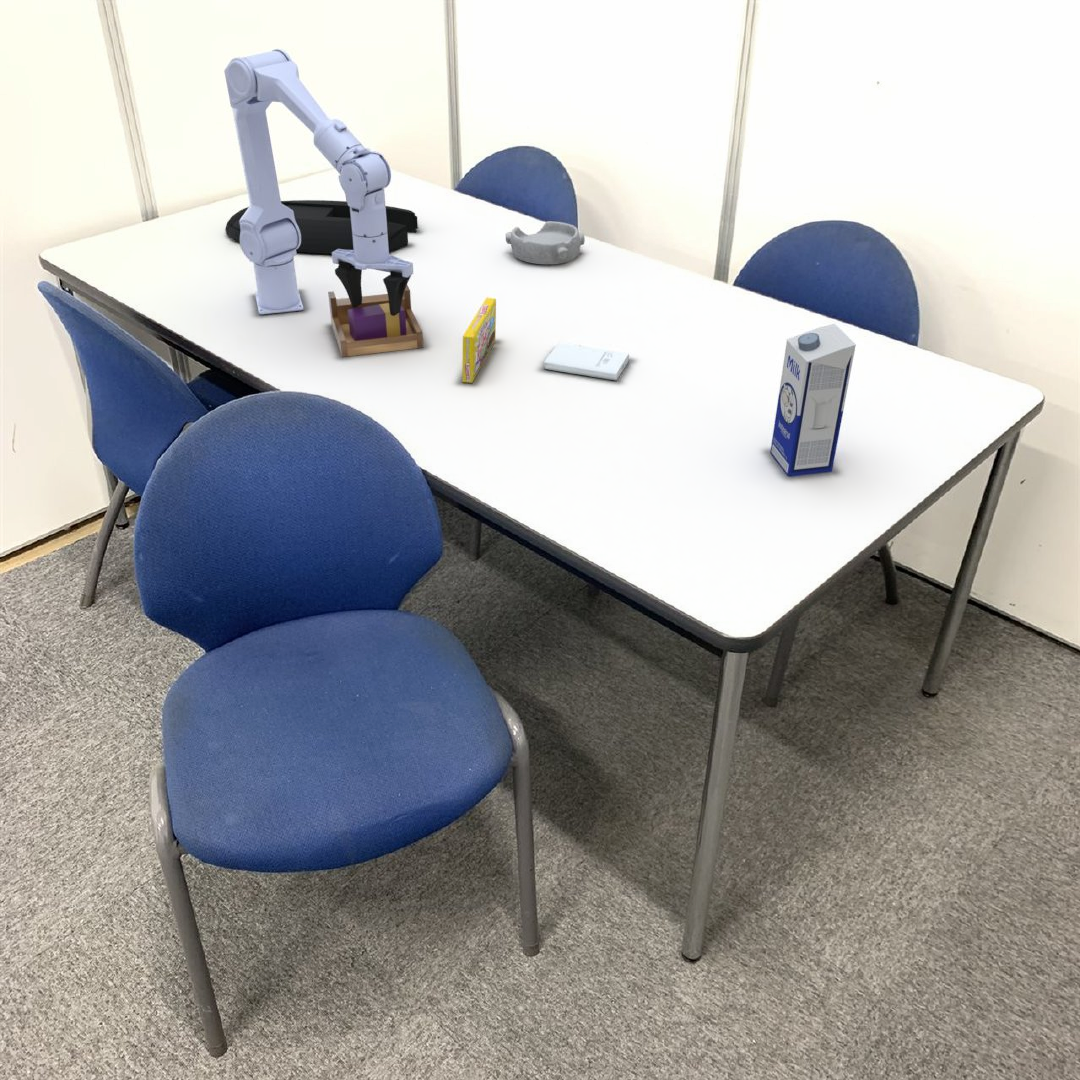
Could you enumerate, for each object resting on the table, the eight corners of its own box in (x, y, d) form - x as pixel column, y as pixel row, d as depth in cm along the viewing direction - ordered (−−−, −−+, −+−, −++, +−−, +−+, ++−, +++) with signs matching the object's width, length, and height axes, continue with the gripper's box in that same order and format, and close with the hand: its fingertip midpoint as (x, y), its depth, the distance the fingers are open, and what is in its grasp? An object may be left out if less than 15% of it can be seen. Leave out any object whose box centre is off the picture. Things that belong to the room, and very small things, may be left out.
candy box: (474, 384, 178) (473, 337, 174) (461, 383, 179) (460, 335, 174) (497, 342, 191) (496, 297, 187) (485, 341, 192) (484, 296, 187)
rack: (331, 326, 196) (327, 291, 192) (409, 317, 199) (406, 283, 196) (341, 357, 186) (338, 321, 182) (423, 347, 189) (421, 312, 186)
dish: (498, 256, 225) (497, 232, 222) (542, 238, 233) (542, 214, 230) (552, 273, 217) (552, 249, 214) (595, 254, 226) (596, 230, 223)
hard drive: (559, 350, 189) (629, 360, 186) (543, 370, 183) (616, 381, 179) (559, 341, 188) (629, 351, 185) (543, 361, 182) (616, 372, 178)
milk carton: (832, 472, 157) (856, 343, 145) (788, 477, 156) (809, 347, 144) (812, 447, 163) (834, 321, 151) (769, 452, 161) (788, 325, 150)
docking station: (249, 208, 247) (246, 186, 244) (426, 219, 243) (425, 196, 240) (207, 248, 227) (203, 224, 224) (399, 260, 222) (397, 236, 219)
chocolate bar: (349, 333, 190) (347, 309, 188) (400, 325, 193) (398, 301, 190) (356, 343, 187) (353, 318, 184) (406, 334, 190) (405, 310, 187)
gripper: (318, 232, 179) (327, 310, 187) (395, 246, 174) (401, 326, 182) (342, 219, 184) (349, 295, 192) (417, 232, 179) (422, 310, 187)
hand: (376, 309), depth 187 cm, fingers open, 7 cm apart
